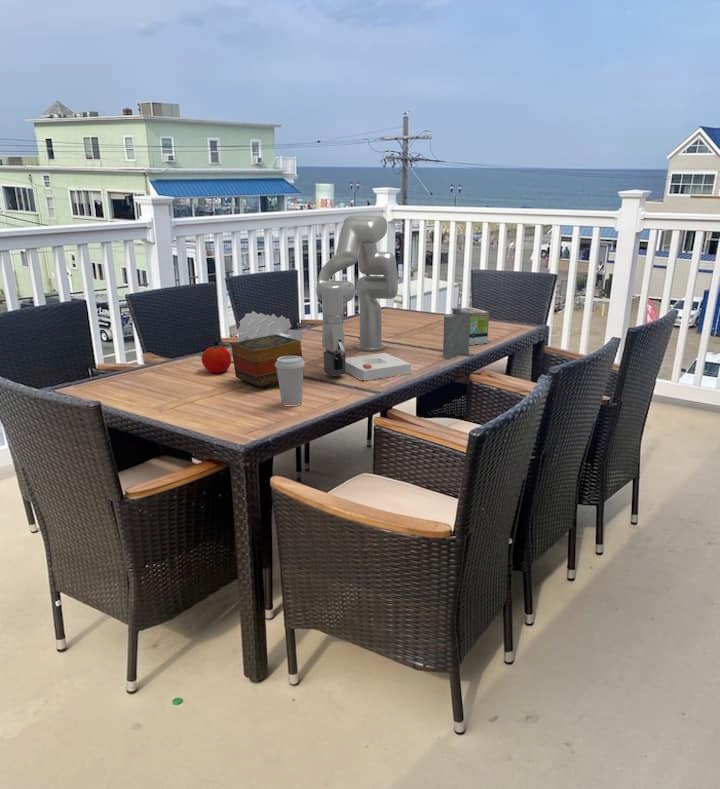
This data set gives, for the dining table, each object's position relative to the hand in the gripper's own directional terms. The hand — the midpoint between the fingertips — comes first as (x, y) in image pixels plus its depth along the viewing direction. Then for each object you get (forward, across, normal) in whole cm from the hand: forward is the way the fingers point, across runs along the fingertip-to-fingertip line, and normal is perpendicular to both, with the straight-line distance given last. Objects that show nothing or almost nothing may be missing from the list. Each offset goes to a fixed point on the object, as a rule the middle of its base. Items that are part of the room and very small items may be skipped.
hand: (334, 366), depth 225 cm
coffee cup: (+4, +21, -25) cm, 33 cm away
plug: (+2, 0, 0) cm, 2 cm away
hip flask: (+5, -5, +58) cm, 59 cm away
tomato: (+4, -30, -36) cm, 47 cm away
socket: (+4, 0, +17) cm, 17 cm away
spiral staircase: (+5, -46, -9) cm, 47 cm away
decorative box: (+4, -7, -23) cm, 25 cm away
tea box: (+6, -24, +80) cm, 83 cm away
